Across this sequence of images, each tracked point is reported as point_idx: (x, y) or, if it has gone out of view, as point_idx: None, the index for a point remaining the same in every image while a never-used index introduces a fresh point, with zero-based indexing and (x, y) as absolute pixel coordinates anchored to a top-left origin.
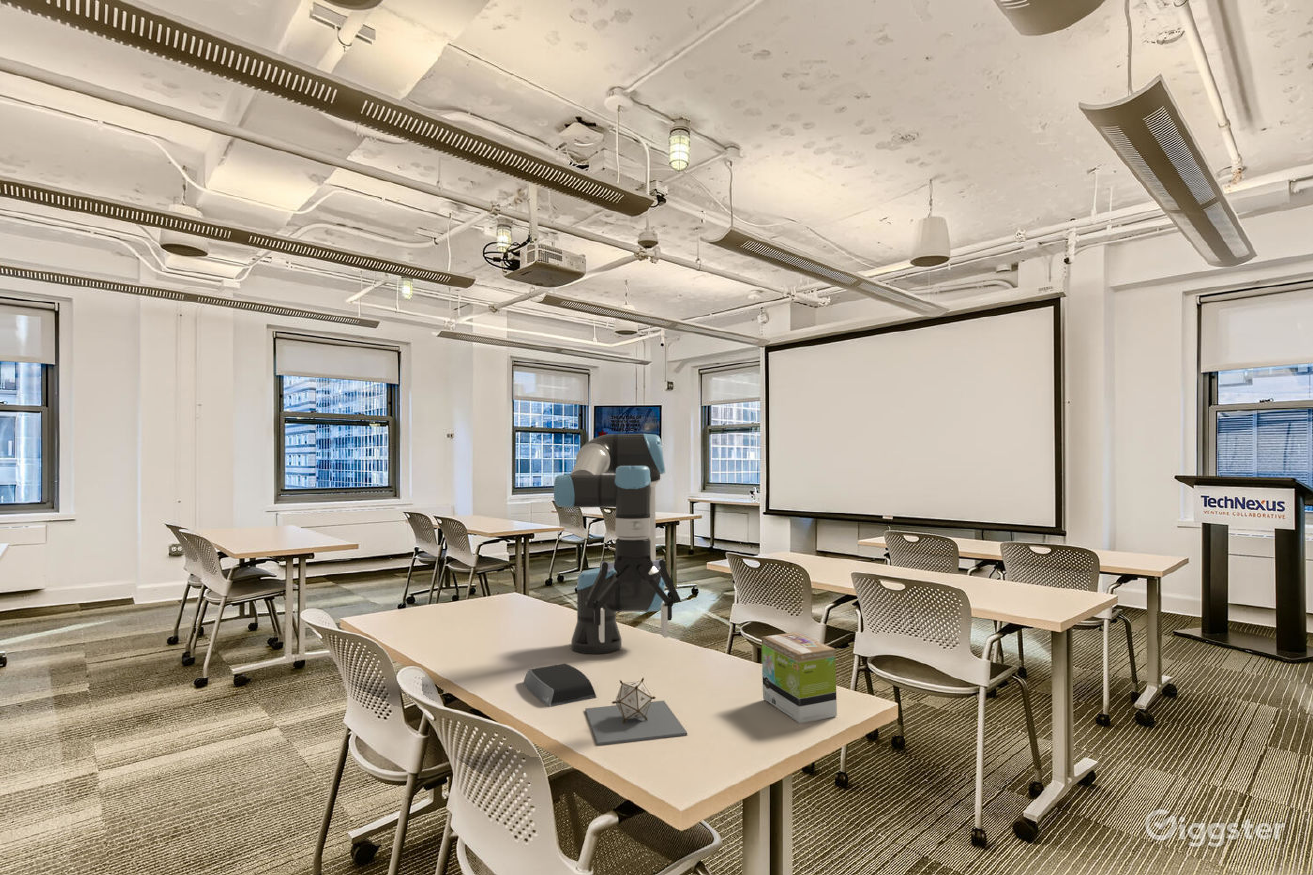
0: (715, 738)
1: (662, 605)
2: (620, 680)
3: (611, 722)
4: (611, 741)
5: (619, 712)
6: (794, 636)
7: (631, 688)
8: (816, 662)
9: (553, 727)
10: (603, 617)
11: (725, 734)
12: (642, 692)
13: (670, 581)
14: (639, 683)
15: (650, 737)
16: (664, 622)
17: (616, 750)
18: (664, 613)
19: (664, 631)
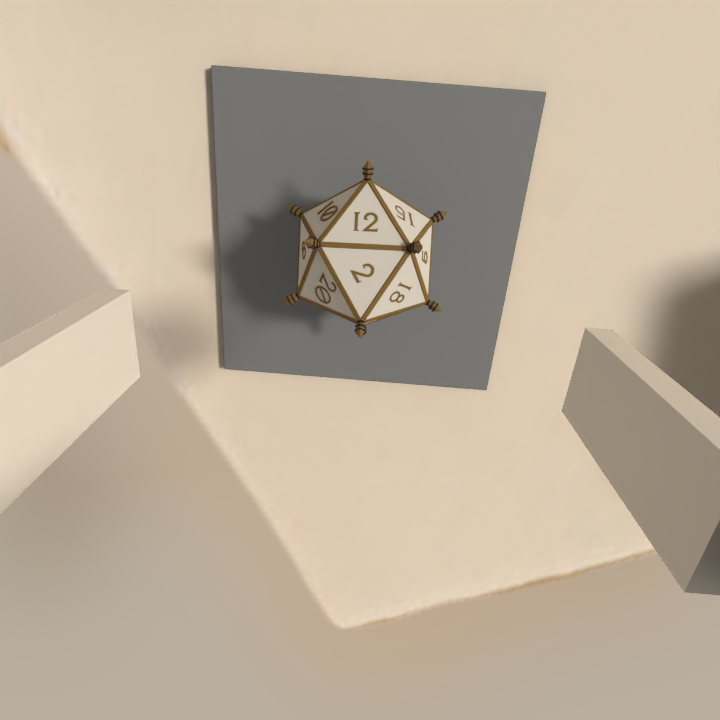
0: (546, 427)
1: (711, 535)
2: (308, 243)
3: (287, 244)
4: (263, 371)
5: (334, 161)
6: None
7: (344, 304)
8: None
9: (96, 192)
10: (21, 483)
11: None
12: (387, 315)
13: None
14: (389, 277)
15: (376, 380)
16: (608, 479)
17: (271, 406)
18: (648, 537)
19: (579, 436)
